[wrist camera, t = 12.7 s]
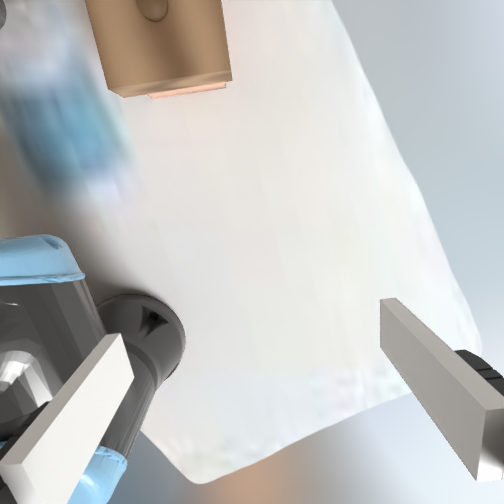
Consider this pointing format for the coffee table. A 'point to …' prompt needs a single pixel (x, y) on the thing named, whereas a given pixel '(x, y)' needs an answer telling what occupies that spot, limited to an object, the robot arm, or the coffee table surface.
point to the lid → (160, 44)
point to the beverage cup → (2, 14)
